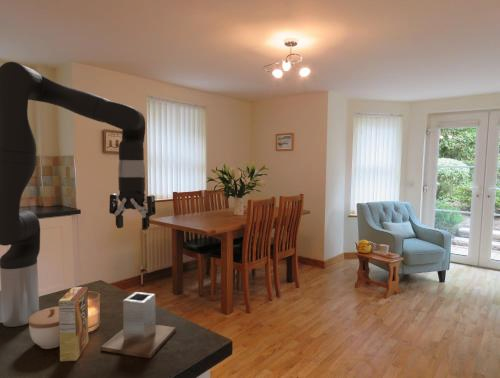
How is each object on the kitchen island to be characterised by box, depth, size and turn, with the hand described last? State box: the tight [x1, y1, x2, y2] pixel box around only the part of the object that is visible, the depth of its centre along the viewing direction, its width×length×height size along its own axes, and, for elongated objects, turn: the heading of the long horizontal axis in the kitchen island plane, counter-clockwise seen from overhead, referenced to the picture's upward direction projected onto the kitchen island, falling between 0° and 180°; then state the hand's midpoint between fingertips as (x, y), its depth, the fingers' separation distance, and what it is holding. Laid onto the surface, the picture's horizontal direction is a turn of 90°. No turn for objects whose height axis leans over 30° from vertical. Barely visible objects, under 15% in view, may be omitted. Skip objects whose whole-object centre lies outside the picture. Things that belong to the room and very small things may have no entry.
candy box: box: [58, 286, 89, 363], centre depth 84 cm, size 9×4×15 cm, turn 9°
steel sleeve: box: [122, 291, 157, 344], centre depth 90 cm, size 6×6×11 cm
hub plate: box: [100, 324, 177, 359], centre depth 90 cm, size 14×14×4 cm
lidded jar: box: [28, 305, 60, 350], centre depth 88 cm, size 11×11×9 cm
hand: (132, 228), depth 101 cm, fingers open, 8 cm apart
